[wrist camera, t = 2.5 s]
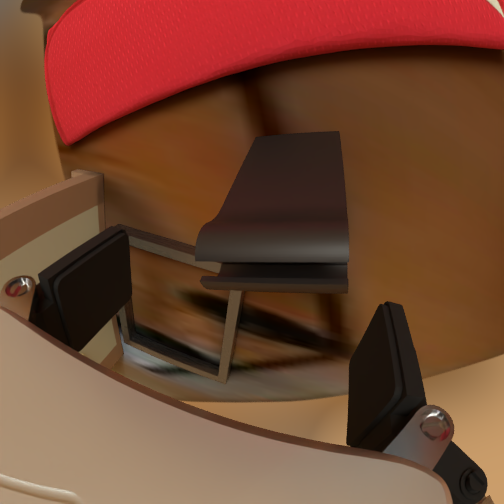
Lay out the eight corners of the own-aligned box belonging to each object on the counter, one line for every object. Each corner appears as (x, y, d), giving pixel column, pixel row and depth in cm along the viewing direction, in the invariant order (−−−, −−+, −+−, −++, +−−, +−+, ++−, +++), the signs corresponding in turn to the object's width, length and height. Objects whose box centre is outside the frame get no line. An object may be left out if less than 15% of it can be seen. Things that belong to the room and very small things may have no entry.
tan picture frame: (106, 174, 25) (-106, 293, 5) (125, 354, 38) (36, 470, 18) (78, 169, 26) (-111, 269, 6) (102, 342, 38) (12, 449, 19)
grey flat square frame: (250, 262, 25) (245, 270, 24) (229, 375, 33) (225, 384, 32) (118, 223, 27) (109, 229, 26) (130, 335, 35) (124, 342, 34)
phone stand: (257, 136, 20) (174, 161, 10) (339, 130, 19) (347, 145, 8) (270, 247, 24) (217, 350, 14) (344, 247, 22) (343, 361, 12)
